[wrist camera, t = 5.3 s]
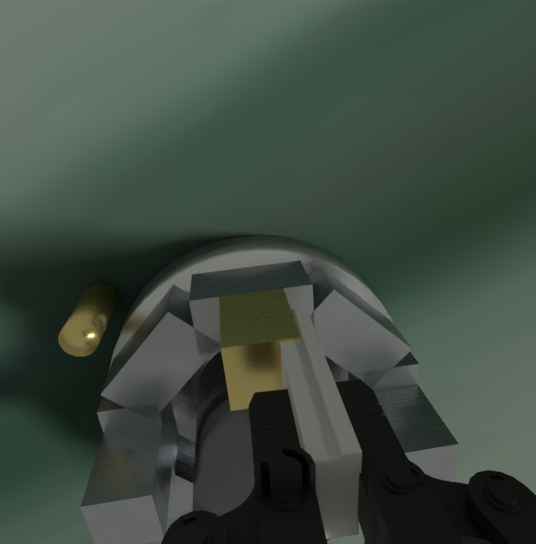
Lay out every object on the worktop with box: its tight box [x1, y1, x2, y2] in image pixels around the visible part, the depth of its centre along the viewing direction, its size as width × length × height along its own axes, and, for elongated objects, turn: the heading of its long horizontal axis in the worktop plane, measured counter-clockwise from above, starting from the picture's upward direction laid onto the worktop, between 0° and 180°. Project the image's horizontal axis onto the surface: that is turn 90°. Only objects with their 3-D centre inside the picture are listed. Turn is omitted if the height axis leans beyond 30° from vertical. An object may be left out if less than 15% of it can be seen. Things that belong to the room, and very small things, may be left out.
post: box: [58, 283, 118, 357], centre depth 19 cm, size 2×2×4 cm
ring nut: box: [81, 260, 458, 544], centre depth 19 cm, size 14×14×6 cm
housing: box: [109, 235, 393, 540], centre depth 20 cm, size 15×15×9 cm
